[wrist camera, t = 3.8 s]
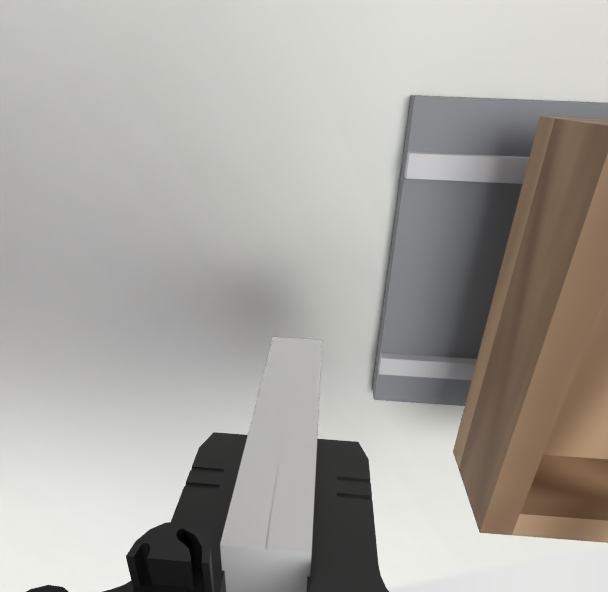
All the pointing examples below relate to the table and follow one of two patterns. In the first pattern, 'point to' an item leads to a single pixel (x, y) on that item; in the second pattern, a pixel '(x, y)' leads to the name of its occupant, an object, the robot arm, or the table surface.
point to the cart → (546, 352)
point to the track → (453, 237)
